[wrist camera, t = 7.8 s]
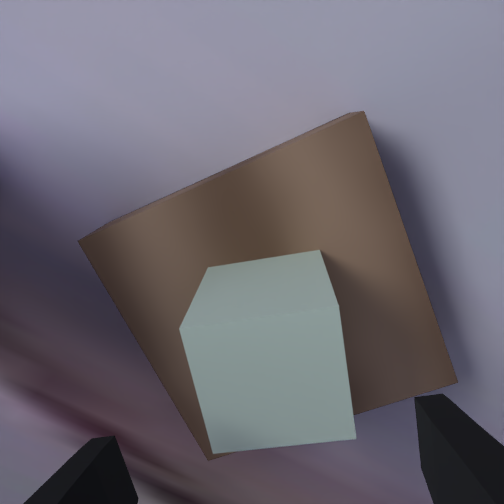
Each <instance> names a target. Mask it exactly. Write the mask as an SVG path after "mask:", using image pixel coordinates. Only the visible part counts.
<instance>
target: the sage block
mask: <svg viewBox="0 0 504 504" xmlns="http://www.w3.org/2000/svg"><path fill="white" fill-rule="evenodd" d="M179 330H180V334H181V338H182V341H183V345H184V349H185V352H186V356H187V360H188V363H189V367H190V371H191V374H192V378H193V382H194V386H195V389H196V393H197V397H198V400H199V404H200V408H201V411H202V415H203V419H204V422H205V426H206V430H207V434H208V437H209V441H210V445H211V448H212V452H213V454H216V453H226V452H235V451H245V450H254V449H264V448H274V447H283V446H293V445H303V444H312V443H322V442H332V441H341V440H351V439H356V431H355V424H354V416H353V408H352V401H351V393H350V386H349V378H348V371H347V363H346V356H345V348H344V341H343V333H342V326H341V318H340V311H339V305H338V302H337V299H336V296H335V293H334V290H333V287H332V284H331V282H330V279H329V276H328V273H327V270H326V267H325V264H324V261H323V258H322V255H321V252H320V250H315V251H309V252H302V253H296V254H290V255H283V256H277V257H271V258H264V259H258V260H252V261H245V262H239V263H233V264H227V265H220V266H214V267H208V268H207V271H206V273H205V275H204V277H203V279H202V281H201V283H200V285H199V288H198V290H197V292H196V294H195V296H194V298H193V300H192V302H191V305H190V307H189V309H188V311H187V313H186V315H185V317H184V319H183V322H182V324H181V326H180V328H179Z"/></svg>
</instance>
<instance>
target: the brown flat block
mask: <svg viewBox="0 0 504 504" xmlns="http://www.w3.org/2000/svg"><path fill="white" fill-rule="evenodd" d="M78 243H79V244H80V246H81V248H82V250H83V251H84V253H85V255H86V256H87V258H88V260H89V261H90V263H91V265H92V266H93V268H94V270H95V271H96V273H97V275H98V276H99V278H100V280H101V281H102V283H103V285H104V287H105V288H106V290H107V292H108V293H109V295H110V297H111V298H112V300H113V302H114V303H115V305H116V307H117V308H118V310H119V312H120V313H121V315H122V317H123V318H124V320H125V322H126V323H127V325H128V327H129V329H130V330H131V332H132V334H133V335H134V337H135V339H136V340H137V342H138V344H139V345H140V347H141V349H142V350H143V352H144V354H145V355H146V357H147V359H148V360H149V362H150V364H151V366H152V367H153V369H154V371H155V372H156V374H157V376H158V377H159V379H160V381H161V382H162V384H163V386H164V387H165V389H166V391H167V392H168V394H169V396H170V397H171V399H172V401H173V403H174V404H175V406H176V408H177V409H178V411H179V413H180V414H181V416H182V418H183V419H184V421H185V423H186V424H187V426H188V428H189V429H190V431H191V433H192V434H193V436H194V438H195V440H196V441H197V443H198V445H199V446H200V448H201V450H202V451H203V453H204V455H205V456H206V458H207V460H208V461H209V460H212V459H215V458H219V457H222V456H225V455H228V454H231V453H235V452H238V451H235V452H226V453H216V454H213V452H212V448H211V445H210V441H209V437H208V434H207V430H206V426H205V422H204V419H203V415H202V411H201V408H200V404H199V400H198V397H197V393H196V389H195V386H194V382H193V378H192V374H191V371H190V367H189V363H188V360H187V356H186V352H185V349H184V345H183V341H182V338H181V334H180V330H179V328H180V326H181V324H182V322H183V319H184V317H185V315H186V313H187V311H188V309H189V307H190V305H191V302H192V300H193V298H194V296H195V294H196V292H197V290H198V288H199V285H200V283H201V281H202V279H203V277H204V275H205V273H206V271H207V268H208V267H214V266H220V265H227V264H233V263H239V262H245V261H252V260H258V259H264V258H271V257H277V256H283V255H290V254H296V253H302V252H309V251H315V250H320V252H321V255H322V258H323V261H324V264H325V267H326V270H327V273H328V276H329V279H330V282H331V284H332V287H333V290H334V293H335V296H336V299H337V302H338V305H339V311H340V318H341V326H342V333H343V341H344V348H345V356H346V363H347V371H348V378H349V386H350V393H351V401H352V408H353V415H356V414H359V413H362V412H365V411H369V410H372V409H375V408H378V407H381V406H385V405H388V404H391V403H394V402H397V401H401V400H404V399H407V398H410V397H413V396H416V395H420V394H423V393H426V392H429V391H432V390H436V389H439V388H442V387H445V386H448V385H452V384H455V383H458V380H457V378H456V375H455V372H454V369H453V366H452V363H451V360H450V357H449V355H448V352H447V349H446V346H445V343H444V340H443V337H442V334H441V331H440V329H439V326H438V323H437V320H436V317H435V314H434V311H433V308H432V305H431V303H430V300H429V297H428V294H427V291H426V288H425V285H424V282H423V279H422V277H421V274H420V271H419V268H418V265H417V262H416V259H415V256H414V253H413V251H412V248H411V245H410V242H409V239H408V236H407V233H406V230H405V228H404V225H403V222H402V219H401V216H400V213H399V210H398V207H397V204H396V202H395V199H394V196H393V193H392V190H391V187H390V184H389V181H388V178H387V176H386V173H385V170H384V167H383V164H382V161H381V158H380V155H379V152H378V150H377V147H376V144H375V141H374V138H373V135H372V132H371V129H370V126H369V124H368V121H367V118H366V115H365V112H364V111H360V112H352V113H348V114H346V115H343V116H341V117H339V118H337V119H335V120H332V121H330V122H328V123H326V124H324V125H322V126H319V127H317V128H315V129H313V130H311V131H308V132H306V133H304V134H302V135H300V136H297V137H295V138H293V139H291V140H289V141H286V142H284V143H282V144H280V145H278V146H275V147H273V148H271V149H269V150H267V151H265V152H262V153H260V154H258V155H256V156H254V157H251V158H249V159H247V160H245V161H243V162H240V163H238V164H236V165H234V166H232V167H229V168H227V169H225V170H223V171H221V172H219V173H216V174H214V175H212V176H210V177H208V178H205V179H203V180H201V181H199V182H197V183H194V184H192V185H190V186H188V187H186V188H183V189H181V190H179V191H177V192H175V193H172V194H170V195H168V196H166V197H164V198H162V199H159V200H157V201H155V202H153V203H151V204H148V205H146V206H144V207H142V208H140V209H137V210H135V211H133V212H131V213H129V214H126V215H124V216H122V217H120V218H118V219H116V220H113V221H111V222H109V223H107V224H105V225H104V226H102V227H100V228H99V229H97V230H95V231H94V232H92V233H90V234H89V235H87V236H85V237H84V238H82V239H80V240H79V241H78Z"/></svg>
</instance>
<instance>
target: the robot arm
mask: <svg viewBox="0 0 504 504" xmlns="http://www.w3.org/2000/svg"><path fill="white" fill-rule="evenodd" d="M414 398H415V409H416V419H417V429H418V439H419V450H420V460H421V469H422V472H423V474H424V477H425V480H426V483H427V486H428V489H429V492H430V494H431V497H432V500H433V503H434V504H504V446H503V445H502V444H501V443H499V442H498V441H497V440H496V439H495V438H493V437H492V436H491V435H490V434H489V433H488V432H486V431H485V430H484V429H483V428H482V427H481V426H479V425H478V424H477V423H476V422H475V421H474V420H472V419H471V418H470V417H469V416H468V415H467V414H466V413H465V412H463V411H462V410H461V409H460V408H459V407H458V406H457V405H456V404H454V403H453V402H452V401H451V400H450V399H449V398H448V397H446V396H445V395H444V394H436V395H429V396H421V397H414ZM137 503H138V496H137V493H136V491H135V488H134V485H133V483H132V480H131V477H130V475H129V472H128V470H127V467H126V464H125V462H124V459H123V456H122V454H121V451H120V449H119V446H118V443H117V441H116V438H115V436H109V437H101V438H93V439H91V440H90V441H88V442H87V443H86V444H85V445H84V446H83V447H82V448H81V449H80V450H78V451H77V452H76V453H75V454H74V455H73V456H72V457H71V458H70V459H69V460H68V461H67V462H66V463H65V464H64V465H63V466H62V467H61V468H60V469H59V470H58V471H57V472H56V473H55V474H53V475H52V476H51V477H50V478H49V479H48V480H47V481H46V482H45V483H44V484H43V485H42V486H41V487H40V488H39V489H38V490H37V491H36V492H35V493H34V494H33V495H32V496H31V497H30V498H29V499H28V500H27V501H26V502H25V503H24V504H137Z"/></svg>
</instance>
